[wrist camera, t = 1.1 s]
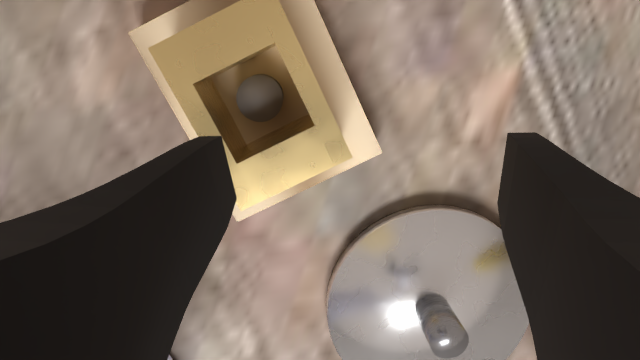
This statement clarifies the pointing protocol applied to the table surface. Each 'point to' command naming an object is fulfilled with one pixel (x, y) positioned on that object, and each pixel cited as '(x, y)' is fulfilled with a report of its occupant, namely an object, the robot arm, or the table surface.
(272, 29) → the gold open box
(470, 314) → the hub
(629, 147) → the table surface
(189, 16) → the stand
